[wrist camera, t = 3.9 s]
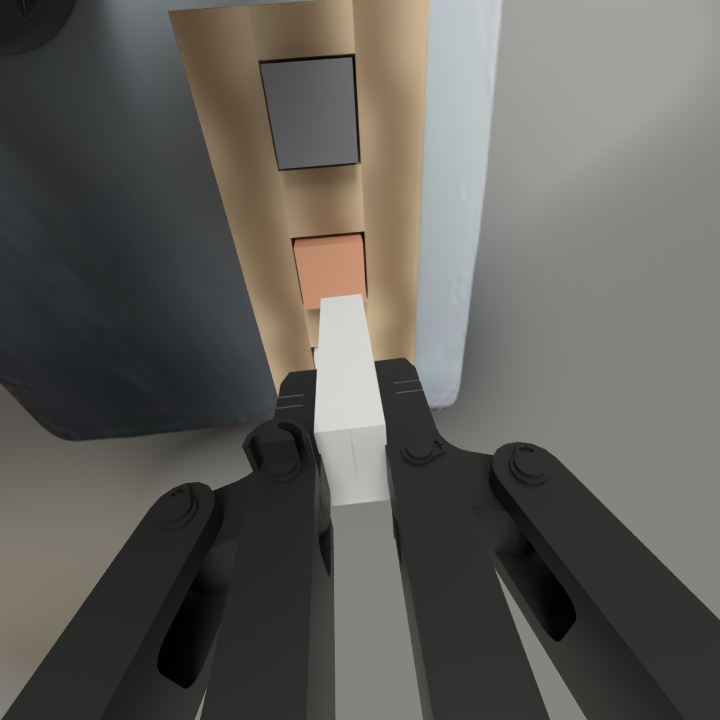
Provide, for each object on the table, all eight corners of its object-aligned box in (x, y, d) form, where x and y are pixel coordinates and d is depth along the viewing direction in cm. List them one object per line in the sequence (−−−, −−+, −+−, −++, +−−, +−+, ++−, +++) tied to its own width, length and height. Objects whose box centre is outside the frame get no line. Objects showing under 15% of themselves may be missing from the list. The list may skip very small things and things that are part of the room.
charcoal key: (285, 161, 24) (279, 169, 21) (270, 71, 21) (260, 64, 18) (353, 155, 25) (358, 162, 21) (348, 65, 22) (352, 57, 18)
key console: (286, 381, 40) (282, 411, 36) (196, 29, 22) (167, 11, 18) (403, 369, 40) (412, 397, 36) (410, 13, 22) (429, -8, 18)
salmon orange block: (307, 288, 30) (304, 309, 27) (297, 231, 27) (293, 248, 24) (362, 283, 31) (366, 303, 27) (358, 226, 28) (362, 241, 24)
